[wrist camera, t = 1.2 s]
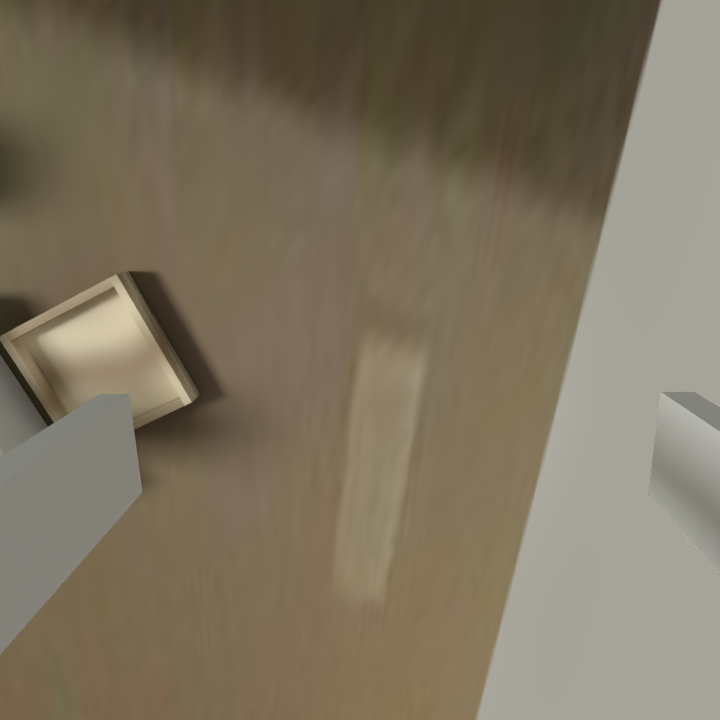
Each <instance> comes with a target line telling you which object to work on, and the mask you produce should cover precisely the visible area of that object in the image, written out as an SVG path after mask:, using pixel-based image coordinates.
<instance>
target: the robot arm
mask: <svg viewBox="0 0 720 720" xmlns="http://www.w3.org/2000/svg"><path fill="white" fill-rule="evenodd" d="M141 493H142V485H141V478H140V470H139V463H138V456H137V448H136V441H135V434H134V426H133V419H132V412H131V404H130V397H129V394H99V395H97V396H96V397H94V398H93V399H91V400H90V401H88V402H86V403H85V404H83V405H82V406H80V407H79V408H77V409H75V410H74V411H72V412H71V413H69V414H68V415H66V416H64V417H63V418H61V419H60V420H58V421H57V422H55V423H53V424H52V425H50V426H49V427H47V428H46V429H44V430H42V431H41V432H39V433H38V434H36V435H34V436H33V437H31V438H30V439H28V440H27V441H25V442H23V443H22V444H20V445H19V446H17V447H16V448H14V449H12V450H11V451H9V452H8V453H6V454H5V455H3V456H1V457H0V654H1V653H2V652H3V651H4V650H5V648H6V647H7V646H8V645H9V644H10V643H11V642H12V640H13V639H14V638H15V637H16V636H17V635H18V634H19V632H20V631H21V630H22V629H23V628H24V627H25V626H26V624H27V623H28V622H29V621H30V620H31V619H32V618H33V616H34V615H35V614H36V613H37V612H38V611H39V610H40V608H41V607H42V606H43V605H44V604H45V603H46V602H47V600H48V599H49V598H50V597H51V596H52V595H53V594H54V592H55V591H56V590H57V589H58V588H59V587H60V586H61V584H62V583H63V582H64V581H65V580H66V579H67V578H68V576H69V575H70V574H71V573H72V572H73V571H74V570H75V568H76V567H77V566H78V565H79V564H80V563H81V562H82V560H83V559H84V558H85V557H86V556H87V555H88V554H89V553H90V551H91V550H92V549H93V548H94V547H95V546H96V545H97V543H98V542H99V541H100V540H101V539H102V538H103V537H104V535H105V534H106V533H107V532H108V531H109V530H110V529H111V527H112V526H113V525H114V524H115V523H116V522H117V521H118V519H119V518H120V517H121V516H122V515H123V514H124V513H125V511H126V510H127V509H128V508H129V507H130V506H131V505H132V503H133V502H134V501H135V500H136V499H137V498H138V497H139V495H140V494H141ZM648 496H649V497H650V498H651V499H652V500H653V501H654V503H655V504H656V505H657V506H658V507H659V508H660V509H661V510H662V511H663V513H664V514H665V515H666V516H667V517H668V518H669V519H670V520H671V521H672V523H673V524H674V525H675V526H676V527H677V528H678V529H679V530H680V531H681V532H682V534H683V535H684V536H685V537H686V538H687V539H688V540H689V541H690V542H691V544H692V545H693V546H694V547H695V548H696V549H697V550H698V551H699V552H700V554H701V555H702V556H703V557H704V558H705V559H706V560H707V561H708V562H709V564H710V565H711V566H712V567H713V568H714V569H715V570H716V571H717V572H718V573H719V575H720V407H718V406H716V405H715V404H713V403H711V402H710V401H708V400H706V399H705V398H703V397H701V396H700V395H698V394H696V393H695V392H661V397H660V405H659V413H658V421H657V430H656V438H655V445H654V453H653V461H652V468H651V476H650V484H649V492H648Z"/></svg>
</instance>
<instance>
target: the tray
mask: <svg viewBox="0 0 720 720" xmlns="http://www.w3.org/2000/svg"><path fill="white" fill-rule="evenodd" d="M0 341H1V343H2V344H3V346H4V347H5V349H6V350H7V352H8V353H9V355H10V356H11V358H12V359H13V361H14V362H15V364H16V365H17V367H18V369H19V370H20V372H21V373H22V375H23V376H24V378H25V379H26V381H27V382H28V384H29V385H30V387H31V388H32V390H33V391H34V393H35V394H36V396H37V398H38V399H39V401H40V402H41V404H42V405H43V407H44V408H45V410H46V411H47V413H48V414H49V416H50V417H51V419H52V420H53V422H54V423H55V422H57V421H58V420H60V419H61V418H63V417H64V416H66V415H68V414H69V413H71V412H72V411H74V410H75V409H77V408H79V407H80V406H82V405H83V404H85V403H86V402H88V401H90V400H91V399H93V398H94V397H96V396H97V395H99V394H129V397H130V404H131V412H132V419H133V426H134V430H135V429H137V428H139V427H141V426H143V425H145V424H147V423H149V422H151V421H154V420H156V419H158V418H160V417H162V416H164V415H166V414H168V413H170V412H172V411H175V410H177V409H179V408H181V407H183V406H185V405H187V404H189V403H191V402H193V401H194V400H195V399H196V398H197V397H198V396H199V395H200V393H199V391H198V390H197V388H196V386H195V384H194V383H193V381H192V379H191V378H190V376H189V374H188V372H187V371H186V369H185V367H184V366H183V364H182V362H181V360H180V359H179V357H178V355H177V354H176V352H175V350H174V348H173V347H172V345H171V343H170V342H169V340H168V338H167V336H166V335H165V333H164V331H163V330H162V328H161V326H160V324H159V323H158V321H157V319H156V318H155V316H154V314H153V312H152V311H151V309H150V307H149V306H148V304H147V302H146V300H145V299H144V297H143V295H142V294H141V292H140V290H139V288H138V287H137V285H136V283H135V282H134V280H133V278H132V276H131V275H130V273H129V271H128V272H124V273H120V274H116V275H114V276H112V277H110V278H108V279H106V280H105V281H103V282H101V283H99V284H97V285H95V286H93V287H91V288H90V289H88V290H86V291H84V292H82V293H80V294H78V295H76V296H74V297H73V298H71V299H69V300H67V301H65V302H63V303H61V304H59V305H58V306H56V307H54V308H52V309H50V310H48V311H46V312H44V313H42V314H41V315H39V316H37V317H35V318H33V319H31V320H29V321H27V322H26V323H24V324H22V325H20V326H18V327H16V328H14V329H12V330H11V331H9V332H7V333H5V334H3V335H1V336H0Z"/></svg>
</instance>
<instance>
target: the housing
mask: <svg viewBox="0 0 720 720" xmlns="http://www.w3.org/2000/svg"><path fill="white" fill-rule="evenodd" d="M47 427H48V426H47V424H46V423H45V421H44V420H43V418H42V417H41V415H40V414H39V412H38V411H37V409H36V408H35V406H34V405H33V403H32V402H31V400H30V399H29V397H28V395H27V394H26V392H25V391H24V389H23V388H22V386H21V385H20V383H19V382H18V380H17V379H16V377H15V376H14V374H13V373H12V371H11V370H10V368H9V367H8V365H7V364H6V362H5V361H4V359H3V358H2V356H1V355H0V457H1V456H3V455H5V454H6V453H8V452H9V451H11V450H12V449H14V448H16V447H17V446H19V445H20V444H22V443H23V442H25V441H27V440H28V439H30V438H31V437H33V436H34V435H36V434H38V433H39V432H41V431H42V430H44V429H46V428H47Z"/></svg>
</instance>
